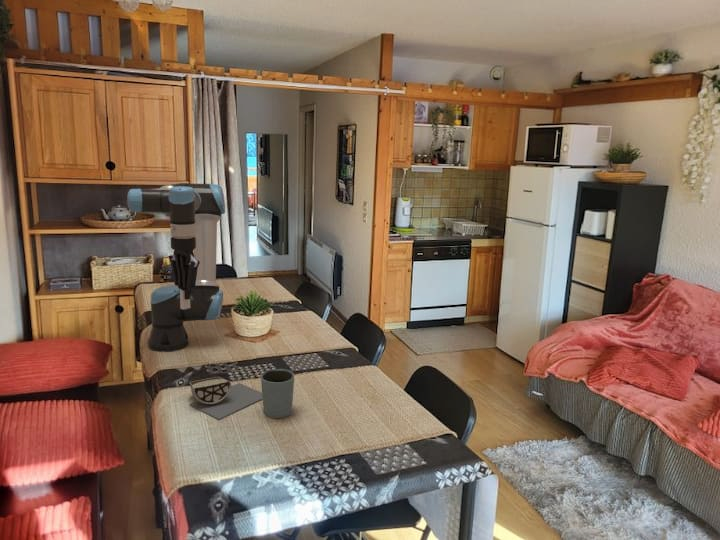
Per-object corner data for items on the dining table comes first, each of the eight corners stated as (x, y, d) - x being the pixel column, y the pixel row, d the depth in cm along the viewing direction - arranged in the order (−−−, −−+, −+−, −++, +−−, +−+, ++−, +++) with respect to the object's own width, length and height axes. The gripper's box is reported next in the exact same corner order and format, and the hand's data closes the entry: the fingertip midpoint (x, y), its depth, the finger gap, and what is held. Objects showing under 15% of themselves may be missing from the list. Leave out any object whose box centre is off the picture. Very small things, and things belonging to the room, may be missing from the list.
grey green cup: (279, 423, 157) (279, 385, 155) (253, 413, 163) (253, 376, 160) (300, 409, 166) (301, 373, 163) (275, 400, 171) (275, 365, 168)
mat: (189, 405, 165) (189, 404, 165) (239, 383, 181) (239, 382, 181) (218, 420, 157) (218, 419, 157) (268, 396, 173) (268, 395, 173)
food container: (185, 401, 170) (194, 409, 161) (184, 382, 169) (192, 389, 161) (224, 393, 176) (234, 401, 168) (222, 375, 176) (232, 381, 167)
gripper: (160, 234, 169) (163, 306, 175) (185, 240, 162) (188, 315, 167) (180, 232, 175) (182, 301, 180) (206, 238, 168) (207, 310, 173)
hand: (185, 308), depth 174 cm, fingers closed
